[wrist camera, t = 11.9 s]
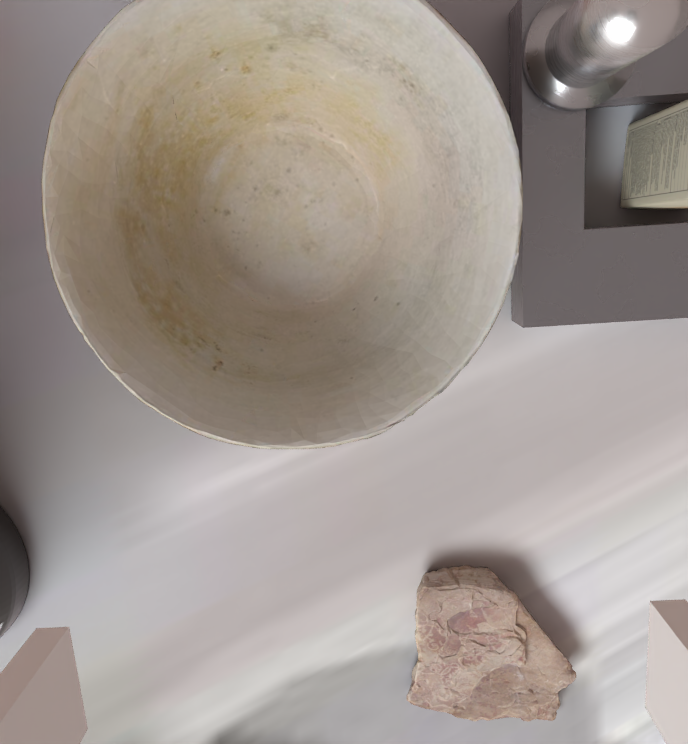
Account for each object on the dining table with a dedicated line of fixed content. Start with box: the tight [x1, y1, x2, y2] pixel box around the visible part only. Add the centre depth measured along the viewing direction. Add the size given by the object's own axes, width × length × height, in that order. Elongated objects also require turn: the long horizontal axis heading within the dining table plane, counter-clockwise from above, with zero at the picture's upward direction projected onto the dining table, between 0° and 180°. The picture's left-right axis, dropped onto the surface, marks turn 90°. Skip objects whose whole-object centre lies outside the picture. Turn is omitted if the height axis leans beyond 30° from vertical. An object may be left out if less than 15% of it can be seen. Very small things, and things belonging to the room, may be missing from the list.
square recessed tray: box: [509, 0, 688, 328], centre depth 38 cm, size 18×18×3 cm
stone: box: [407, 565, 576, 721], centre depth 46 cm, size 12×12×3 cm
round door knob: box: [522, 0, 688, 111], centre depth 32 cm, size 6×6×12 cm
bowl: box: [41, 0, 523, 449], centre depth 36 cm, size 24×24×10 cm
